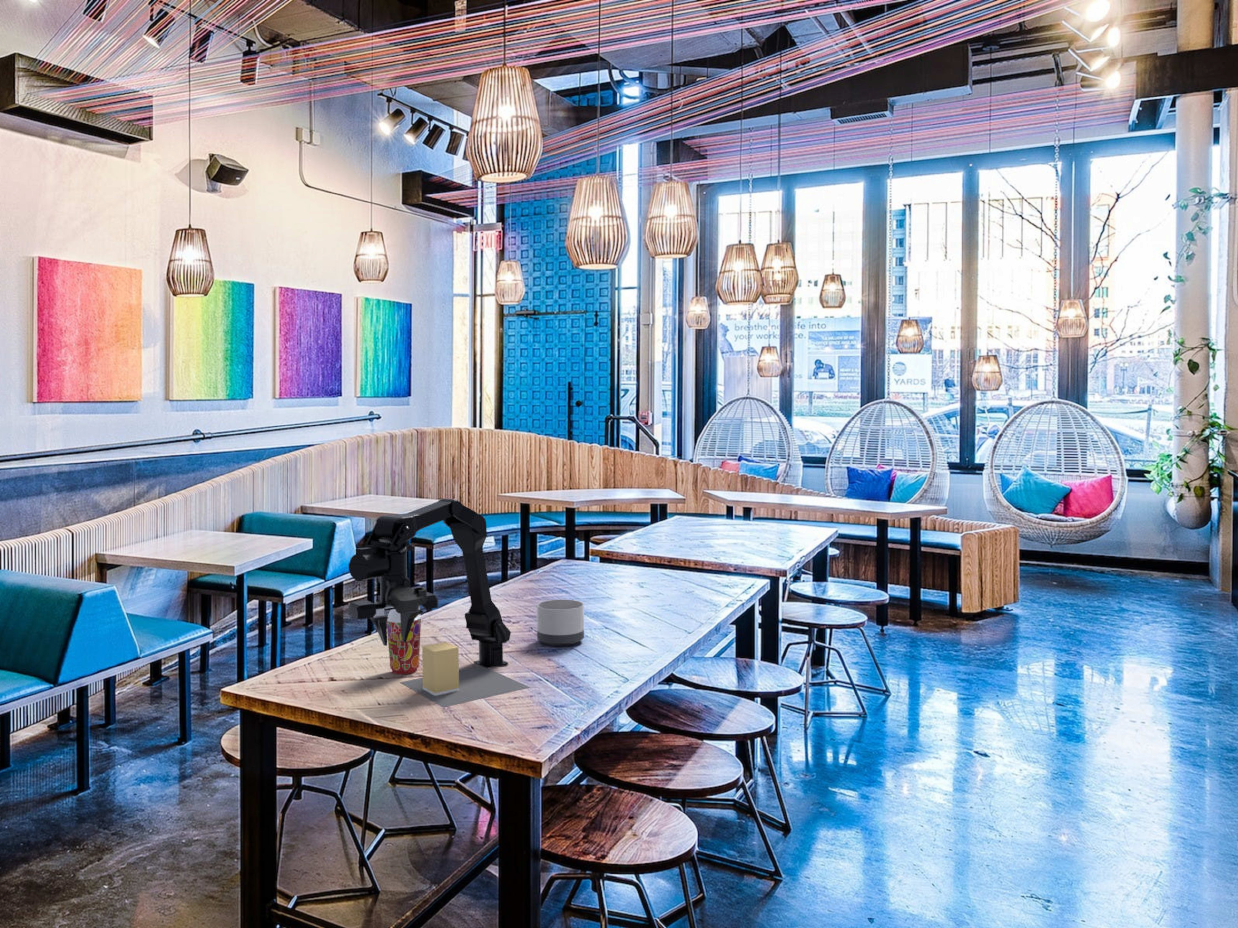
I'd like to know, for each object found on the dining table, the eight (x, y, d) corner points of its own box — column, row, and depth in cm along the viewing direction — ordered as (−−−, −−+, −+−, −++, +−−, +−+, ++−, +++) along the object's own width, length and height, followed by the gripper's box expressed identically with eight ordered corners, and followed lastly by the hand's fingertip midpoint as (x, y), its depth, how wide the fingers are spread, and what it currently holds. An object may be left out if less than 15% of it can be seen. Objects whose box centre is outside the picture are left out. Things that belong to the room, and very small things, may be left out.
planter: (556, 651, 246) (556, 612, 245) (527, 641, 255) (527, 603, 254) (593, 642, 254) (593, 604, 253) (564, 633, 264) (564, 597, 263)
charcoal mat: (399, 684, 217) (399, 682, 217) (482, 667, 231) (482, 665, 231) (443, 709, 200) (443, 706, 200) (530, 689, 213) (530, 687, 213)
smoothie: (384, 669, 229) (383, 589, 227) (418, 665, 232) (417, 586, 230) (390, 679, 221) (388, 596, 219) (425, 675, 224) (424, 593, 223)
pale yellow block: (422, 688, 212) (422, 645, 211) (446, 683, 216) (446, 641, 215) (434, 695, 207) (434, 651, 207) (459, 690, 211) (458, 647, 210)
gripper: (367, 584, 191) (369, 659, 192) (449, 573, 202) (450, 644, 203) (346, 576, 199) (348, 647, 200) (426, 566, 211) (427, 634, 212)
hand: (394, 643), depth 204 cm, fingers open, 4 cm apart
